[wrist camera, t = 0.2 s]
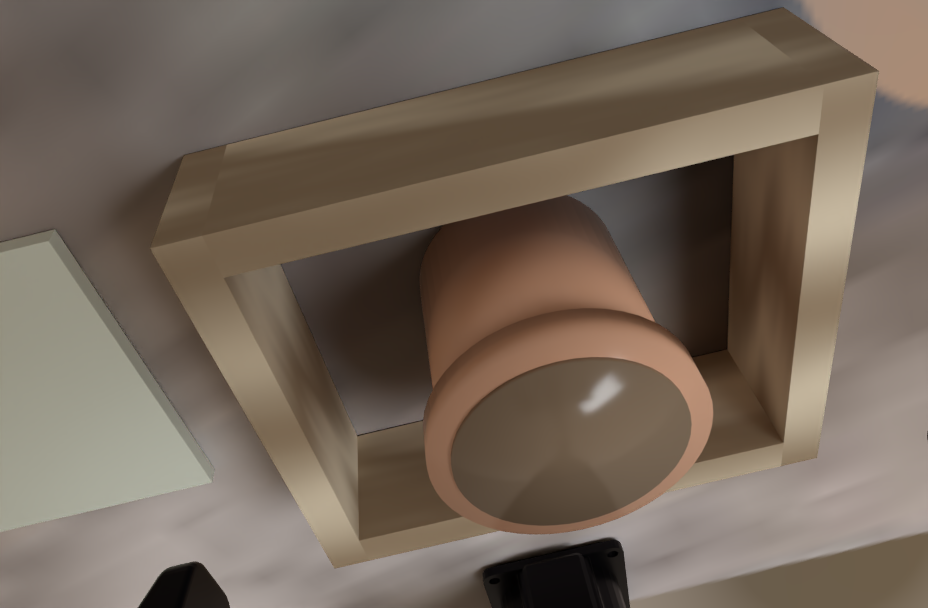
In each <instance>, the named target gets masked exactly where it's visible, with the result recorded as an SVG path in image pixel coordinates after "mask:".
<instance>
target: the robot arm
mask: <svg viewBox="0 0 928 608" xmlns="http://www.w3.org/2000/svg"><path fill="white" fill-rule="evenodd" d="M927 438H928V433H927ZM483 582H484V586H485V589H486V591H487V594H488V597H489V600H490V603H491V606H492V608H630V604H629V595H628V586H627V578H626V569H625V560H624V552H623V549H622V546H621V543H620V542H619V541H617V540H609V541H605V542H601V543H596V544H592V545H588V546H583V547H579V548H574V549H570V550H566V551H561V552H557V553H553V554H548V555H544V556H539V557H535V558H531V559H526V560H522V561H517V562H513V563H509V564H504V565H500V566H496V567H491V568H488V569H486V570H485V571H484V572H483ZM138 608H230V605H229V602H228V599H227V596H226V595H225V593H224V592H223V590H222V589H221V588H220V586H219V585H218V584H217V582H216V581H215V580H214V578H213V577H212V576H211V574H210V573H209V572H208V571H207V569H206V568H205V567H204V566H203V564H201V563H199V562H189V563H185V564H181V565H177V566H172V567H169V568H167V569H166V570H164V571H163V572H162V573H161V574H160V575H159V577H158V578H157V580H156V581H155V583H154V584H153V586H152V587H151V589H150V590H149V592H148V593H147V595H146V596H145V598H144V599H143V601H142V602H141V604H140V605H139V607H138Z"/></svg>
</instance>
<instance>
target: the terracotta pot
mask: <svg viewBox="0 0 928 608" xmlns="http://www.w3.org/2000/svg"><path fill="white" fill-rule="evenodd" d="M419 284H420V295H421V302H422V310H423V318H424V325H425V333H426V341H427V348H428V356H429V363H430V371H431V379H432V386H433V391H432V393H431V394H430V396H429V399H428V402H427V405H426V408H425V411H424V418H423V438H424V447H425V457H426V466H427V471H428V475H429V478H430V481H431V483H432V485H433V487H434V489H435V491H436V492H437V494H438V495H439V496H440V498H441V499H442V500H443V501H444V502H445V503H446V504H447V505H448V506H449V507H450V508H451V509H452V510H454V511H455V512H457V513H458V514H460V515H461V516H463V517H464V518H466V519H468V520H470V521H472V522H474V523H477V524H480V525H482V526H485V527H488V528H492V529H496V530H500V531H505V532H512V533H519V534H554V533H563V532H570V531H576V530H581V529H586V528H589V527H593V526H597V525H601V524H604V523H606V522H609V521H612V520H615V519H618V518H620V517H622V516H625V515H627V514H629V513H631V512H633V511H635V510H637V509H639V508H641V507H643V506H645V505H647V504H648V503H650V502H651V501H653V500H654V499H656V498H657V497H659V496H661V495H662V494H663V493H664V492H666V491H667V490H668V489H670V488H671V487H672V486H673V485H675V484H676V483H677V482H678V481H679V480H680V479H681V478H682V477H683V476H684V475H685V474H686V473H687V472H688V470H689V469H690V468H691V467H692V466H693V464H694V463H695V462H696V460H697V459H698V457H699V456H700V454H701V453H702V451H703V449H704V447H705V445H706V443H707V440H708V438H709V435H710V431H711V428H712V421H713V404H712V399H711V395H710V392H709V389H708V387H707V385H706V383H705V381H704V379H703V378H702V376H701V374H700V372H699V370H698V368H697V366H696V365H695V363H694V361H693V359H692V357H691V355H690V354H689V352H688V350H687V349H686V347H685V346H684V345H683V344H682V342H681V341H680V340H679V339H678V338H677V337H676V336H674V335H673V334H672V333H671V332H670V331H669V330H667V329H666V328H664V327H662V326H661V325H659V324H657V323H656V322H655V321H654V319H653V317H652V315H651V313H650V311H649V309H648V307H647V305H646V303H645V301H644V299H643V297H642V295H641V293H640V291H639V289H638V288H637V286H636V284H635V282H634V280H633V278H632V276H631V274H630V272H629V270H628V268H627V266H626V264H625V262H624V260H623V258H622V256H621V254H620V252H619V250H618V248H617V246H616V245H615V243H614V241H613V239H612V237H611V235H610V233H609V231H608V229H607V227H606V226H605V224H604V223H603V221H602V220H601V219H600V218H599V216H598V215H597V214H596V213H595V212H593V211H592V210H591V209H590V208H589V207H587V206H586V205H584V204H583V203H581V202H580V201H578V200H576V199H574V198H572V197H569V196H567V195H564V196H560V197H556V198H552V199H548V200H544V201H539V202H535V203H531V204H527V205H523V206H519V207H515V208H511V209H506V210H502V211H498V212H494V213H490V214H486V215H482V216H477V217H473V218H469V219H465V220H461V221H457V222H453V223H448V224H445V225H444V226H443V227H442V228H441V229H440V230H439V231H438V233H437V234H436V235H435V236H434V238H433V240H432V241H431V243H430V244H429V246H428V248H427V250H426V253H425V255H424V257H423V261H422V264H421V268H420V277H419Z"/></svg>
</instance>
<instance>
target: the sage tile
mask: <svg viewBox="0 0 928 608" xmlns="http://www.w3.org/2000/svg"><path fill="white" fill-rule="evenodd" d="M214 470H215V469H214V468H213V466H212V465H211V463H210V462H209V460H208V459H207V457H206V456H205V454H204V453H203V451H202V450H201V448H200V447H199V445H198V444H197V442H196V441H195V439H194V438H193V436H192V435H191V433H190V432H189V430H188V429H187V427H186V426H185V424H184V423H183V421H182V420H181V418H180V417H179V415H178V414H177V412H176V411H175V409H174V408H173V406H172V405H171V403H170V402H169V400H168V399H167V397H166V396H165V394H164V393H163V391H162V390H161V388H160V387H159V385H158V384H157V382H156V381H155V379H154V377H153V376H152V374H151V373H150V371H149V370H148V368H147V367H146V365H145V364H144V362H143V361H142V359H141V358H140V356H139V355H138V353H137V352H136V350H135V349H134V347H133V346H132V344H131V343H130V341H129V340H128V338H127V337H126V335H125V334H124V332H123V331H122V329H121V328H120V326H119V325H118V323H117V322H116V320H115V319H114V317H113V316H112V314H111V313H110V311H109V310H108V308H107V307H106V305H105V304H104V302H103V301H102V299H101V298H100V296H99V295H98V293H97V292H96V290H95V289H94V287H93V286H92V284H91V283H90V281H89V280H88V278H87V277H86V275H85V274H84V272H83V271H82V269H81V267H80V266H79V264H78V263H77V261H76V260H75V258H74V257H73V255H72V254H71V252H70V251H69V249H68V248H67V246H66V245H65V243H64V242H63V240H62V239H61V237H60V236H59V234H58V233H57V231H56V230H55V229H54V230H50V231H46V232H42V233H38V234H33V235H29V236H25V237H21V238H17V239H13V240H9V241H5V242H1V243H0V532H3V531H7V530H11V529H16V528H20V527H24V526H29V525H33V524H37V523H41V522H46V521H50V520H54V519H59V518H63V517H67V516H71V515H76V514H80V513H84V512H88V511H93V510H97V509H101V508H106V507H110V506H114V505H118V504H123V503H127V502H131V501H135V500H140V499H144V498H148V497H153V496H157V495H161V494H165V493H170V492H174V491H178V490H182V489H187V488H191V487H195V486H200V485H204V484H208V483H212V482H213V476H214Z"/></svg>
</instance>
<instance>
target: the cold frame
mask: <svg viewBox="0 0 928 608" xmlns="http://www.w3.org/2000/svg"><path fill="white" fill-rule="evenodd" d="M878 74H879V71H878V70H877V69H875V68H874V67H872V66H871V65H869V64H868V63H866V62H864V61H863V60H862V59H860V58H858V57H857V56H856V55H854V54H853V53H851V52H850V51H848V50H847V49H845V48H844V47H842V46H841V45H839V44H838V43H836V42H835V41H833V40H832V39H830V38H829V37H827V36H826V35H824V34H823V33H821V32H820V31H818V30H817V29H815V28H814V27H812V26H811V25H809V24H808V23H806V22H805V21H803V20H802V19H800V18H799V17H797V16H796V15H794V14H793V13H791V12H790V11H788V10H787V9H785V8H784V7H783V8H779V9H775V10H771V11H767V12H763V13H759V14H755V15H751V16H747V17H743V18H739V19H735V20H730V21H726V22H722V23H718V24H714V25H710V26H706V27H702V28H698V29H694V30H690V31H686V32H682V33H678V34H674V35H670V36H666V37H662V38H658V39H653V40H649V41H645V42H641V43H637V44H633V45H629V46H625V47H621V48H617V49H613V50H609V51H605V52H601V53H597V54H593V55H589V56H585V57H580V58H576V59H572V60H568V61H564V62H560V63H556V64H552V65H548V66H544V67H540V68H536V69H532V70H528V71H524V72H520V73H516V74H512V75H507V76H503V77H499V78H495V79H491V80H487V81H483V82H479V83H475V84H471V85H467V86H463V87H459V88H455V89H451V90H447V91H443V92H439V93H435V94H430V95H426V96H422V97H418V98H414V99H410V100H406V101H402V102H398V103H394V104H390V105H386V106H382V107H378V108H374V109H370V110H366V111H362V112H357V113H353V114H349V115H345V116H341V117H337V118H333V119H329V120H325V121H321V122H317V123H313V124H309V125H305V126H301V127H297V128H293V129H289V130H285V131H280V132H276V133H272V134H268V135H264V136H260V137H256V138H252V139H248V140H244V141H240V142H236V143H232V144H228V145H224V146H220V147H216V148H212V149H207V150H203V151H199V152H195V153H191V154H187V155H184V156H183V159H182V162H181V165H180V167H179V170H178V173H177V176H176V178H175V181H174V184H173V187H172V189H171V192H170V195H169V198H168V200H167V203H166V206H165V208H164V211H163V214H162V217H161V219H160V222H159V225H158V228H157V230H156V233H155V236H154V239H153V241H152V244H151V247H150V250H151V251H152V253H153V255H154V257H155V258H156V260H157V262H158V263H159V265H160V267H161V269H162V270H163V272H164V274H165V276H166V277H167V279H168V281H169V282H170V284H171V286H172V288H173V289H174V291H175V293H176V295H177V296H178V298H179V300H180V302H181V303H182V305H183V307H184V308H185V310H186V312H187V314H188V315H189V317H190V319H191V321H192V322H193V324H194V326H195V328H196V329H197V331H198V333H199V334H200V336H201V338H202V340H203V341H204V343H205V345H206V347H207V348H208V350H209V352H210V354H211V355H212V357H213V359H214V360H215V362H216V364H217V366H218V367H219V369H220V371H221V373H222V374H223V376H224V378H225V379H226V381H227V383H228V385H229V386H230V388H231V390H232V392H233V393H234V395H235V397H236V399H237V400H238V402H239V404H240V405H241V407H242V409H243V411H244V412H245V414H246V416H247V418H248V419H249V421H250V423H251V425H252V426H253V428H254V430H255V431H256V433H257V435H258V437H259V438H260V440H261V442H262V444H263V445H264V447H265V449H266V451H267V452H268V454H269V456H270V457H271V459H272V461H273V463H274V464H275V466H276V468H277V470H278V471H279V473H280V475H281V476H282V478H283V480H284V482H285V483H286V485H287V487H288V489H289V490H290V492H291V494H292V496H293V497H294V499H295V501H296V502H297V504H298V506H299V508H300V509H301V511H302V513H303V515H304V516H305V518H306V520H307V522H308V523H309V525H310V527H311V528H312V530H313V532H314V534H315V535H316V537H317V539H318V541H319V542H320V544H321V546H322V548H323V549H324V551H325V553H326V554H327V556H328V558H329V560H330V561H331V563H332V565H333V567H334V568H339V567H343V566H348V565H352V564H357V563H361V562H365V561H370V560H374V559H378V558H383V557H387V556H391V555H396V554H400V553H404V552H409V551H413V550H418V549H422V548H426V547H431V546H435V545H439V544H444V543H448V542H452V541H457V540H461V539H465V538H470V537H474V536H478V535H483V534H487V533H492V532H496V531H500V530H496V529H492V528H488V527H485V526H482V525H480V524H477V523H474V522H472V521H470V520H468V519H466V518H464V517H463V516H461V515H460V514H458V513H457V512H455V511H454V510H452V509H451V508H450V507H449V506H448V505H447V504H446V503H445V502H444V501H443V500H442V499H441V498H440V496H439V495H438V494H437V492H436V491H435V489H434V487H433V485H432V483H431V481H430V478H429V475H428V471H427V466H426V457H425V447H424V438H423V421H420V422H416V423H411V424H407V425H403V426H399V427H394V428H390V429H386V430H381V431H377V432H373V433H369V434H364V435H360V436H357V435H356V432H355V430H354V428H353V426H352V423H351V421H350V419H349V417H348V414H347V412H346V410H345V408H344V405H343V403H342V401H341V399H340V397H339V394H338V392H337V390H336V388H335V385H334V383H333V381H332V379H331V376H330V374H329V372H328V370H327V367H326V365H325V363H324V361H323V359H322V356H321V354H320V352H319V350H318V347H317V345H316V343H315V341H314V338H313V336H312V334H311V332H310V329H309V327H308V325H307V323H306V321H305V318H304V316H303V314H302V312H301V309H300V307H299V305H298V303H297V300H296V298H295V296H294V294H293V291H292V289H291V287H290V285H289V283H288V280H287V278H286V276H285V274H284V271H283V269H282V267H281V265H280V264H283V263H287V262H291V261H295V260H299V259H304V258H308V257H312V256H316V255H320V254H324V253H328V252H333V251H337V250H341V249H345V248H349V247H353V246H357V245H362V244H366V243H370V242H374V241H378V240H382V239H386V238H390V237H395V236H399V235H403V234H407V233H411V232H415V231H419V230H424V229H428V228H432V227H436V226H440V225H444V224H448V223H453V222H457V221H461V220H465V219H469V218H473V217H477V216H482V215H486V214H490V213H494V212H498V211H502V210H506V209H511V208H515V207H519V206H523V205H527V204H531V203H535V202H539V201H544V200H548V199H552V198H556V197H560V196H564V195H568V194H573V193H577V192H581V191H585V190H589V189H593V188H597V187H602V186H606V185H610V184H614V183H618V182H622V181H626V180H631V179H635V178H639V177H643V176H647V175H651V174H655V173H660V172H664V171H668V170H672V169H676V168H680V167H684V166H688V165H693V164H697V163H701V162H705V161H709V160H713V159H717V158H722V157H726V156H730V155H734V170H733V199H732V228H731V257H730V286H729V315H728V344H727V350H723V351H719V352H714V353H710V354H706V355H701V356H697V357H693V358H692V359H693V361H694V363H695V365H696V366H697V368H698V370H699V372H700V374H701V376H702V378H703V379H704V381H705V383H706V385H707V387H708V389H709V392H710V395H711V399H712V404H713V421H712V428H711V431H710V435H709V438H708V440H707V443H706V445H705V447H704V449H703V451H702V453H701V454H700V456H699V457H698V459H697V460H696V462H695V463H694V464H693V466H692V467H691V468H690V469H689V470H688V472H687V473H686V474H685V475H684V476H683V477H682V478H681V479H680V480H679V481H678V482H677V483H676V484H675V485H673V486H672V487H671V488H670V489H668V490H667V491H666V492H670V491H674V490H679V489H683V488H688V487H692V486H696V485H701V484H705V483H709V482H714V481H718V480H722V479H727V478H731V477H735V476H740V475H744V474H749V473H753V472H757V471H762V470H766V469H770V468H775V467H779V466H783V465H788V464H792V463H796V462H801V461H805V460H810V459H814V458H817V454H818V448H819V442H820V436H821V430H822V423H823V417H824V411H825V405H826V398H827V392H828V386H829V380H830V373H831V367H832V361H833V355H834V349H835V342H836V336H837V330H838V324H839V317H840V311H841V305H842V299H843V293H844V286H845V280H846V274H847V268H848V261H849V255H850V249H851V243H852V236H853V230H854V224H855V218H856V212H857V205H858V199H859V193H860V187H861V180H862V174H863V168H864V162H865V155H866V149H867V143H868V137H869V131H870V124H871V118H872V112H873V106H874V99H875V93H876V87H877V81H878ZM666 492H664V493H666Z"/></svg>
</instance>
